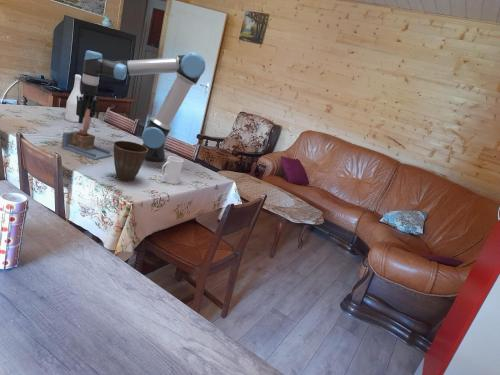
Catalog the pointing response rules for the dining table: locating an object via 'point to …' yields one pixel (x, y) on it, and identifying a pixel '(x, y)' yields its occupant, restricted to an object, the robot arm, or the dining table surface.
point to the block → (82, 141)
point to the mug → (172, 170)
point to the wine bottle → (73, 101)
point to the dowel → (86, 116)
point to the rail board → (91, 153)
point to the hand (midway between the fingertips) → (83, 128)
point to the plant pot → (128, 159)
